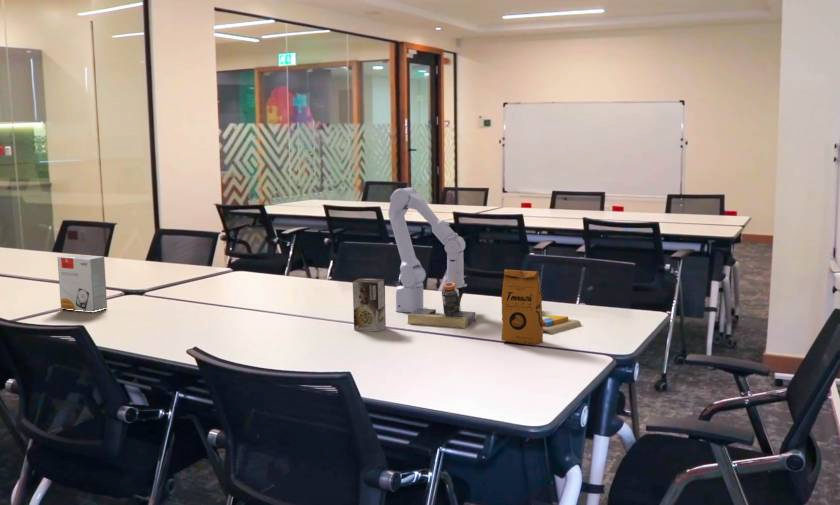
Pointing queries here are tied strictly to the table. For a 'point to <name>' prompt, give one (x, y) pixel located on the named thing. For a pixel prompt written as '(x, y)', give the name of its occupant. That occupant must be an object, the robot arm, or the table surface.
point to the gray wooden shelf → (441, 318)
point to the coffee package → (522, 308)
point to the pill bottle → (450, 299)
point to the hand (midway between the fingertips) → (455, 309)
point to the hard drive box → (82, 282)
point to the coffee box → (369, 304)
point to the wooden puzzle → (558, 323)
